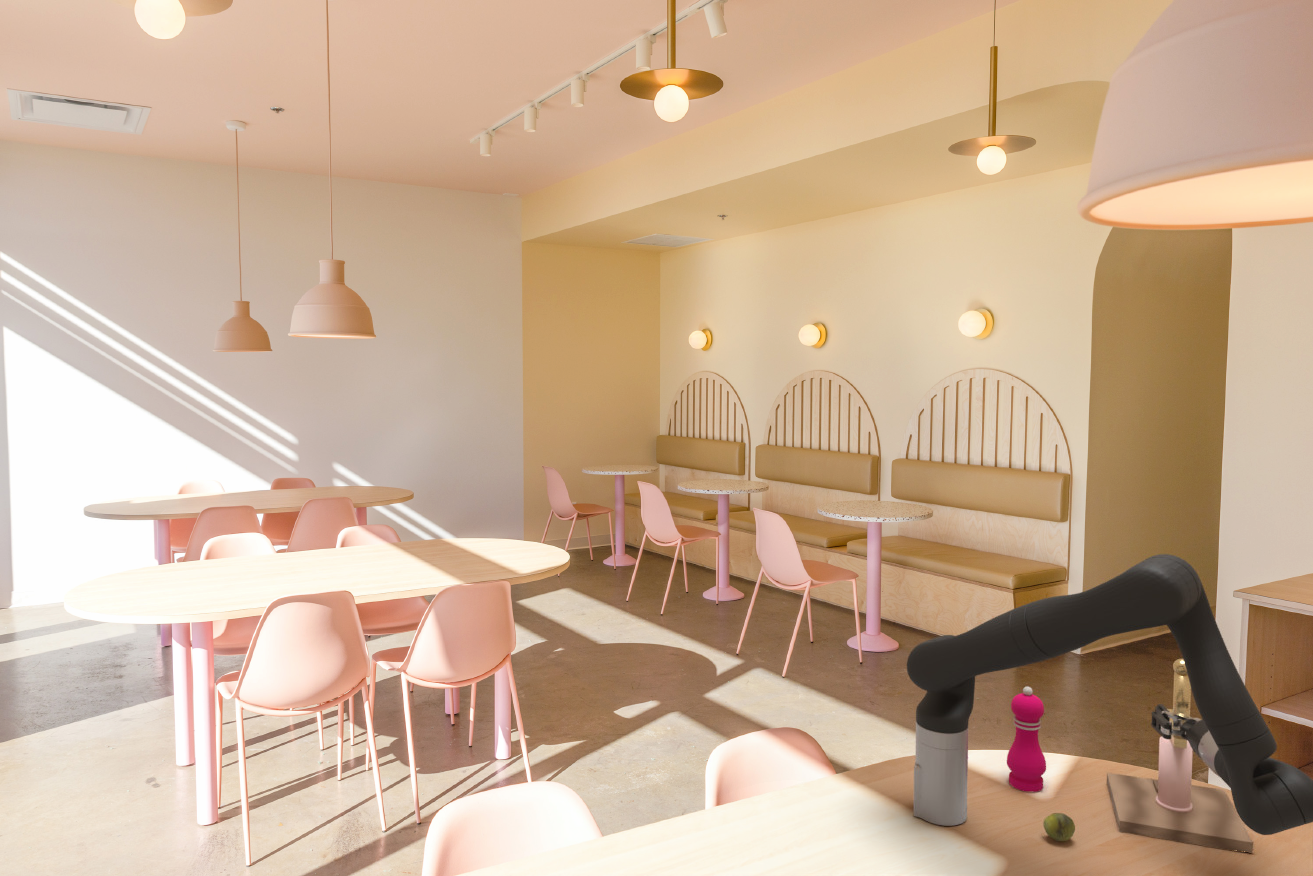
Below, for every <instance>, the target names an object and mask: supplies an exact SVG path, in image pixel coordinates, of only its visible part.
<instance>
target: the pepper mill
mask: <svg viewBox="0 0 1313 876" xmlns="http://www.w3.org/2000/svg"><path fill="white" fill-rule="evenodd" d="M1033 693H1034V692H1033V688H1032V687H1030V686H1025V687H1024V688H1023V689H1022V693H1018V694H1016V695H1015V696H1013V698H1012V700H1011V702H1010V703H1011V704H1010V708H1011V712H1012V713H1013V714H1014V716H1013V721H1012V722H1013V725H1014V726H1015V736H1014V740H1013V742H1012V745H1011V746H1010V748H1009V750H1008V752H1007V756H1006V757H1007V758H1006V765H1007V767H1008V769H1009V774H1008V783H1009V785H1010V786H1011V787H1012V788H1014V789H1016V790H1018V791H1022V792H1026V793H1038V792H1041V791H1042V790H1043V788H1044V777H1043V775H1044V774H1046V773H1045V772H1046V771H1047V761H1046V758H1045V755H1044V752H1043V751H1042V749H1041V746H1040V742H1039V729H1041V728H1042V725H1041V723H1042V720H1041V718H1043V716H1044V714H1045V706H1044V703H1043V701H1042V700H1041V698H1040V697H1038V696H1037V695H1034V694H1033Z"/></svg>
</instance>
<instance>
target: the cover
mask: <svg viewBox="0 0 1313 876" xmlns="http://www.w3.org/2000/svg"><path fill="white" fill-rule="evenodd" d="M1192 771H1193V749H1192V748H1191V746H1190V744H1189V742H1188V740H1187V748H1180V747H1174V746H1173V744H1172V742H1171V740H1170V739H1165V738H1163V737H1162V736H1160V737H1159V743H1158V775H1157V776H1158V777H1157V778H1158V779H1157V780H1158V795H1157V796H1156V803H1157V804H1158V805H1159V806H1161V807H1162V808H1164V809H1167V810H1170V811H1174V812H1180V813H1186V812H1190V811H1192V807H1193V805H1192V803H1191V785H1192V780H1193V779H1192V776H1193V775H1192V774H1193V773H1192Z"/></svg>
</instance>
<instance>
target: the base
mask: <svg viewBox="0 0 1313 876" xmlns="http://www.w3.org/2000/svg"><path fill="white" fill-rule="evenodd" d="M1106 785H1107V789H1108V793H1109V797H1110V800H1111V801H1110V802H1111V804H1112V808H1113V812H1114V813H1113V814H1114V816H1115V819H1116V824H1117V825H1116V826H1117V827H1118V831H1119V832H1120V833H1126V834H1130V835H1131V834H1132V835H1138V836H1144V837H1148V838H1149V837H1151V838H1156V839H1161V840H1166V841H1167V840H1168V841H1173V842H1180V843H1184V844H1185V843H1186V844H1191V845H1198V846H1204V847H1209V848H1216V849H1220V850H1226V851H1232V850H1237V851H1243V852H1244V851H1245V852H1249V853H1253V854H1254V851H1253V850H1254V841H1253V840H1252V838H1251V836H1250V834H1249V833H1248V830H1247V829H1246V827H1245V825H1244V822H1243V821H1242V820H1241V818H1240V817H1239V815H1238V813H1237V811H1236V808H1235V805H1234V803H1232V801H1231V799H1230V797H1229V795H1228V793H1227V792H1226V790H1225V789H1222V788H1221V789H1220V788H1213V787H1209V786H1208V787H1207V786H1201V785H1193V784H1191V803H1192V805H1193V807H1192V811H1190V812H1186V813H1180V812H1174V811H1170V810H1167V809H1164V808H1162V807H1161V806H1159V805H1158V804H1157V803H1156V796H1157V795H1158V779H1153V778H1146V777H1141V776H1134V775H1127V774H1119V773H1112V772H1106ZM1221 848H1222V849H1221ZM1227 849H1229V850H1227ZM1237 851H1236V852H1237ZM1243 852H1242V853H1243ZM1249 853H1248V854H1249Z"/></svg>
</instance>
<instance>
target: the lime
mask: <svg viewBox="0 0 1313 876" xmlns="http://www.w3.org/2000/svg"><path fill="white" fill-rule="evenodd" d="M1043 828H1044V831H1045V833H1046V834H1047V836H1048V837H1050V838H1051V839H1053V840H1054V841H1055V842H1067V841H1069V840H1071V838H1072V837H1073V836H1074V834H1075V831H1076V825H1075V822H1074V820H1073V819H1072V817H1070V816H1069V815H1067V814H1065V813H1062V812H1053V813H1052V814H1050V815H1047V816H1045V818H1044V820H1043Z"/></svg>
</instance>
